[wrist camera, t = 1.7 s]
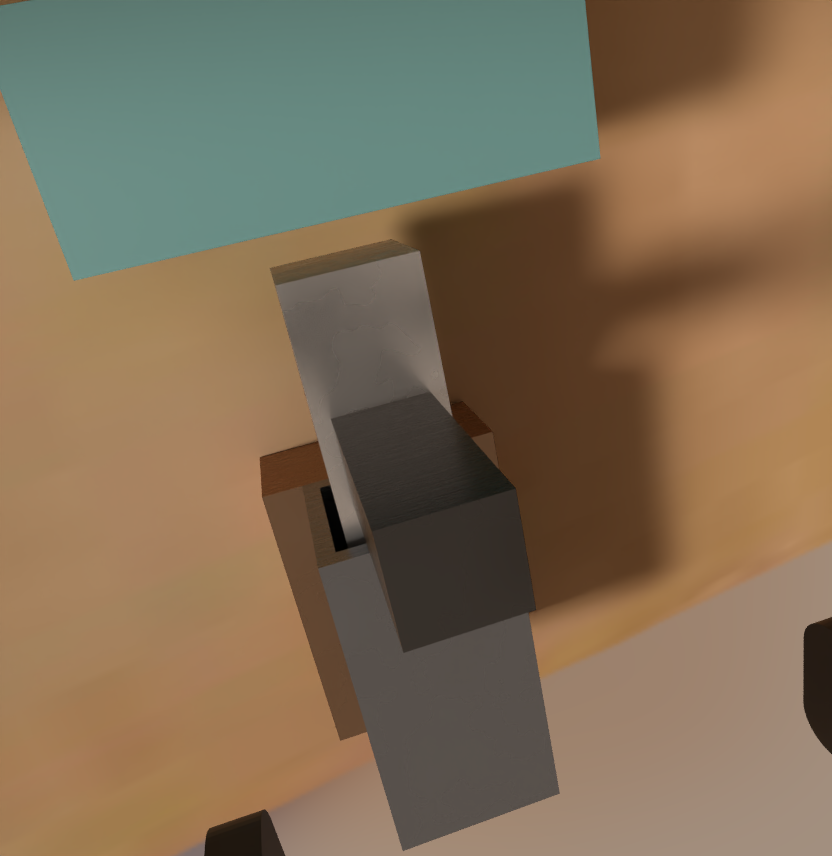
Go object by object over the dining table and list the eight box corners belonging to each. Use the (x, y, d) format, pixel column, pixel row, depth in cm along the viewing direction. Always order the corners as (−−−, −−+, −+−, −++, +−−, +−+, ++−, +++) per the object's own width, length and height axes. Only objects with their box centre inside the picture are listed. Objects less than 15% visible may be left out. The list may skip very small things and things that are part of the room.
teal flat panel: (96, 88, 24) (-30, 10, 13) (432, 23, 26) (575, -96, 15) (146, 237, 26) (73, 280, 15) (456, 166, 27) (600, 158, 16)
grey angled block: (474, 633, 29) (599, 880, 19) (380, 664, 28) (456, 935, 18) (391, 239, 23) (508, 286, 13) (269, 267, 22) (292, 341, 12)
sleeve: (504, 622, 35) (597, 779, 26) (329, 679, 34) (362, 865, 25) (462, 401, 31) (556, 496, 22) (259, 457, 29) (267, 584, 20)
